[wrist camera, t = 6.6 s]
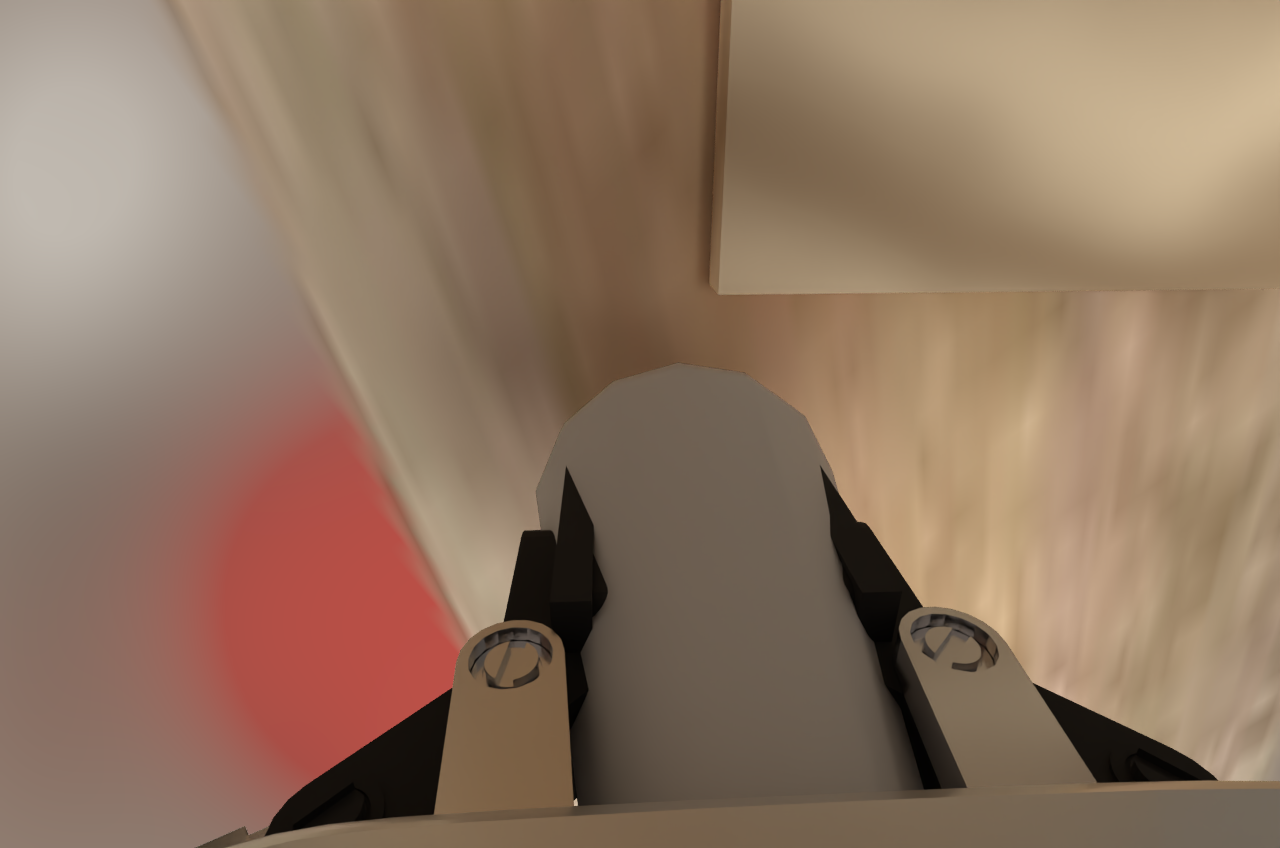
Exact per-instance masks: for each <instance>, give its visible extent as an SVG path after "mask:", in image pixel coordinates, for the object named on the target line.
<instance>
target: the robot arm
mask: <svg viewBox="0 0 1280 848" xmlns="http://www.w3.org/2000/svg"><path fill="white" fill-rule="evenodd" d="M820 468H821V473H822V478H823V484H824V489H825V494H826V499H827V504H828V509H829V514H830V536H831V539H832V541H833V544H834V547H835V549H836V552H837V554H838V557H839V560H840V562H841V564H842V570H843V581H844V585H845V586H846V588H847V590H848V591H849V594H850V596H851V599H852V601H853V603H854V606H855V609H856V612H857V615H858V618H859V620H860V622H861V623H862V625H863V627H864V629H865V631H866V633H867V634H868V636H869V638H870V639H871V640H872V641H873V642H874V644H875V648H876V652H877V656H878V660H879V664H880V668H881V672H882V676H883V680H884V684H885V686H886V687H887V689H888V690H889V692H890V693H891V695H892V696H893V698H894V699H895V701H896V702H897V704H898V705H899V707H900V708H901V711H902V715H903V718H904V722H905V725H906V729H907V732H908V736H909V739H910V743H911V746H912V750H913V753H914V757H915V760H916V763H917V767H918V770H919V774H920V777H921V781H922V784H923V788H924V790H905V791H882V792H859V793H837V794H814V795H792V796H770V797H749V798H727V799H705V800H685V801H666V802H646V803H627V804H607V805H587V806H574V800H575V799H576V798H577V793H576V786H575V779H574V771H573V764H572V756H571V749H570V734H569V732H570V730H571V728H572V726H573V724H574V721H575V719H576V717H577V715H578V713H579V711H580V709H581V707H582V705H583V702H584V700H585V698H586V696H587V693H588V690H589V688H588V684H587V679H586V675H585V670H584V666H583V661H582V657H581V651H582V649H583V647H584V645H585V643H586V641H587V639H588V637H589V635H590V633H591V631H592V617H594V616H595V615H596V614H597V612H598V611H599V610H600V609H601V607H602V606H603V604H604V602H605V600H606V598H607V594H608V587H607V584H606V582H605V580H604V577H603V575H602V573H601V570H600V568H599V566H598V563H597V561H596V559H595V556H594V554H593V541H594V524H593V522H592V520H591V518H590V516H589V514H588V512H587V509H586V507H585V505H584V503H583V501H582V499H581V496H580V494H579V492H578V490H577V488H576V486H575V483H574V481H573V479H572V477H571V475H570V473H569V470H568V468H567V466H566V469H565V478H564V486H563V495H562V503H561V511H560V520H559V528H558V536H557V544H556V539H555V535H554V533H553V531H551V530H531V531H524V532H523V534H522V537H521V542H520V546H519V551H518V556H517V561H516V566H515V570H514V575H513V580H512V585H511V589H510V594H509V599H508V604H507V609H506V613H505V618H504V622H502V623H497V624H494V625H492V626H490V627H487V628H485V629H483V630H481V631H480V632H478V633H477V634H476V635H474V636H473V637H472V638H470V639H469V640H468V642H467V643H466V644H465V645H464V647H463V648H462V649H461V651H460V653H459V656H458V659H457V662H456V668H455V675H454V681H453V688H451V689H450V690H448V691H447V692H445V693H444V694H442V695H441V696H439V697H438V698H436V699H435V700H433V701H432V702H430V703H429V704H427V705H426V706H424V707H423V708H421V709H420V710H418V711H417V712H415V713H414V714H412V715H411V716H409V717H408V718H406V719H405V720H403V721H402V722H400V723H399V724H397V725H396V726H394V727H393V728H391V729H390V730H388V731H387V732H385V733H384V734H382V735H381V736H379V737H378V738H376V739H375V740H373V741H372V742H370V743H369V744H367V745H366V746H364V747H363V748H361V749H360V750H358V751H357V752H355V753H354V754H352V755H351V756H349V757H348V758H346V759H345V760H343V761H342V762H340V763H339V764H337V765H336V766H334V767H333V768H331V769H330V770H328V771H327V772H325V773H324V774H322V775H321V776H319V777H318V778H316V779H315V780H313V781H312V782H310V783H309V784H307V785H306V786H304V787H303V788H302V789H301V790H300V791H298V792H297V793H296V794H295V795H293V796H292V797H291V798H290V799H289V800H288V801H287V802H286V803H285V804H284V805H283V807H282V808H281V809H280V810H279V812H278V813H277V814H276V815H275V816H274V818H273V820H272V822H271V824H270V826H268V827H266V828H264V829H262V830H259V831H257V832H255V833H253V834H250V835H248V832H247V830H246V827H245V826H244V827H242V828H239V829H237V830H235V831H232V832H231V833H228V834H226V835H223V836H221V837H219V838H217V839H214V840H212V841H210V842H207V843H205V844H203V845H201V846H198V847H196V848H1280V782H1279V781H1218V780H1217V779H1216V778H1215V777H1214V776H1213V775H1212V774H1211V773H1209V772H1208V771H1207V770H1205V769H1204V768H1203V767H1201V766H1200V765H1199V764H1198V763H1196V762H1195V761H1194V760H1192V759H1190V758H1188V757H1187V756H1185V755H1183V754H1181V753H1179V752H1178V751H1176V750H1174V749H1172V748H1170V747H1168V746H1166V745H1164V744H1162V743H1160V742H1158V741H1155V740H1153V739H1151V738H1149V737H1147V736H1145V735H1143V734H1140V733H1138V732H1136V731H1134V730H1132V729H1130V728H1128V727H1126V726H1123V725H1121V724H1119V723H1117V722H1115V721H1113V720H1111V719H1108V718H1106V717H1104V716H1102V715H1100V714H1098V713H1096V712H1094V711H1091V710H1089V709H1087V708H1085V707H1083V706H1081V705H1079V704H1076V703H1074V702H1072V701H1070V700H1068V699H1066V698H1064V697H1062V696H1059V695H1057V694H1055V693H1053V692H1051V691H1049V690H1047V689H1044V688H1042V687H1040V686H1038V685H1036V684H1034V683H1032V681H1031V680H1030V678H1029V677H1028V675H1027V674H1026V672H1025V671H1024V669H1023V668H1022V666H1021V664H1020V663H1019V661H1018V660H1017V658H1016V657H1015V655H1014V654H1013V652H1012V651H1011V649H1010V648H1009V646H1008V644H1007V643H1006V642H1005V641H1004V640H1003V638H1002V637H1001V636H1000V635H999V634H998V633H997V632H996V631H995V630H994V629H992V628H991V627H990V626H988V625H987V624H986V623H984V622H983V621H981V620H979V619H977V618H975V617H973V616H971V615H969V614H966V613H963V612H960V611H956V610H953V609H949V608H941V607H924V608H923V606H922V605H921V603H920V602H919V600H918V599H917V597H916V596H915V594H914V593H913V591H912V590H911V588H910V587H909V585H908V584H907V582H906V581H905V579H904V578H903V576H902V575H901V573H900V572H899V570H898V569H897V568H896V566H895V565H894V563H893V562H892V560H891V559H890V557H889V556H888V554H887V553H886V551H885V550H884V548H883V547H882V545H881V544H880V542H879V541H878V539H877V538H876V536H875V535H874V533H873V532H872V530H871V529H870V527H869V526H868V525H867V524H866V523H863V522H857V521H856V519H855V518H854V516H853V515H852V513H851V512H850V510H849V509H848V507H847V506H846V504H845V503H844V501H843V499H842V498H841V496H840V495H839V493H838V492H837V490H836V489H835V487H834V486H833V484H832V482H831V481H830V479H829V478H828V476H827V475H826V473H825V472H824V470H823V469H822V467H821V466H820Z"/></svg>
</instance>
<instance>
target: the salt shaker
mask: <svg viewBox="0 0 1280 848" xmlns="http://www.w3.org/2000/svg"><path fill="white" fill-rule="evenodd" d="M566 466H567V468H568V470H569V473H570V475H571V477H572V479H573V481H574V483H575V486H576V488H577V490H578V492H579V494H580V496H581V499H582V501H583V503H584V505H585V507H586V509H587V512H588V514H589V516H590V518H591V520H592V522H593V524H594V541H593V554H594V556H595V559H596V561H597V563H598V566H599V568H600V570H601V573H602V575H603V577H604V580H605V582H606V584H607V587H608V594H607V598H606V600H605V602H604V604H603V606H602V607H601V609H600V610H599V611H598V612H597V614H596V615H595V616H594V617H592V631H591V633H590V635H589V637H588V639H587V641H586V643H585V645H584V647H583V649H582V651H581V657H582V661H583V666H584V670H585V675H586V679H587V684H588V688H589V690H588V693H587V696H586V698H585V700H584V702H583V705H582V707H581V709H580V711H579V713H578V715H577V717H576V719H575V721H574V724H573V726H572V728H571V730H570V732H569V734H570V749H571V756H572V764H573V771H574V779H575V786H576V793H577V801H578V806H587V805H607V804H627V803H646V802H666V801H685V800H705V799H727V798H749V797H770V796H792V795H814V794H837V793H859V792H882V791H905V790H924V788H923V784H922V781H921V777H920V774H919V770H918V767H917V763H916V760H915V757H914V753H913V750H912V746H911V743H910V739H909V736H908V732H907V729H906V725H905V722H904V718H903V715H902V711H901V708H900V707H899V705H898V704H897V702H896V701H895V699H894V698H893V696H892V695H891V693H890V692H889V690H888V689H887V687H886V686H885V684H884V680H883V676H882V672H881V668H880V664H879V660H878V656H877V652H876V648H875V644H874V642H873V641H872V640H871V639H870V638H869V636H868V634H867V633H866V631H865V629H864V627H863V625H862V623H861V622H860V620H859V618H858V615H857V612H856V609H855V606H854V603H853V601H852V599H851V596H850V594H849V591H848V590H847V588H846V586H845V585H844V581H843V570H842V564H841V562H840V560H839V557H838V554H837V552H836V549H835V547H834V544H833V541H832V539H831V536H830V514H829V509H828V504H827V499H826V494H825V489H824V484H823V478H822V473H821V468H820V466H821V467H822V469H823V470H824V472H825V473H826V475H827V476H828V478H829V479H830V481H831V482H832V484H833V486H834V487H835V489H836V490H837V492H838V489H837V486H836V482H835V479H834V475H833V472H832V469H831V467H830V465H829V463H828V461H827V459H826V457H825V455H824V453H823V451H822V449H821V447H820V445H819V443H818V441H817V439H816V437H815V435H814V433H813V431H812V429H811V427H810V425H809V423H808V421H807V419H806V417H805V416H804V415H803V414H801V413H800V412H799V411H797V410H796V409H795V408H794V407H792V406H791V405H789V404H788V403H787V402H785V401H784V400H782V399H781V398H780V397H778V396H777V395H775V394H774V393H772V392H771V391H770V390H768V389H767V388H765V387H764V386H763V385H761V384H760V383H758V382H757V381H756V380H754V379H753V378H751V377H750V376H749V375H747V374H746V373H744V372H737V371H731V370H724V369H717V368H710V367H704V366H697V365H690V364H683V363H675V364H672V365H668V366H665V367H661V368H658V369H654V370H651V371H647V372H644V373H640V374H637V375H633V376H630V377H626V378H623V379H619V380H616V381H613V382H612V383H610V384H609V385H608V386H607V387H606V388H605V389H603V390H602V391H601V392H600V393H599V394H598V395H596V396H595V397H594V398H593V399H592V400H591V401H589V402H588V403H587V404H586V405H585V406H584V407H583V408H581V409H580V410H579V411H578V412H577V413H576V414H574V415H573V416H572V417H571V418H570V419H569V420H567V421H566V422H565V423H564V425H563V427H562V429H561V431H560V433H559V436H558V438H557V440H556V443H555V445H554V448H553V450H552V453H551V455H550V457H549V460H548V462H547V465H546V467H545V470H544V472H543V475H542V477H541V479H540V482H539V484H538V487H537V489H536V497H537V504H538V512H539V519H540V527H541V530H551V531H553V533H554V535H555V539H556V544H557V536H558V528H559V520H560V511H561V503H562V495H563V486H564V478H565V469H566Z"/></svg>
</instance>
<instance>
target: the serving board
mask: <svg viewBox="0 0 1280 848" xmlns="http://www.w3.org/2000/svg"><path fill="white" fill-rule="evenodd" d="M709 284H710V286H711V287H712V288H713V289H714V290H715V292H716V293H717V294H718V295H760V294H853V293H947V292H1040V291H1133V290H1226V289H1280V0H721V6H720V30H719V55H718V79H717V104H716V128H715V153H714V177H713V202H712V226H711V250H710V275H709Z"/></svg>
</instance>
